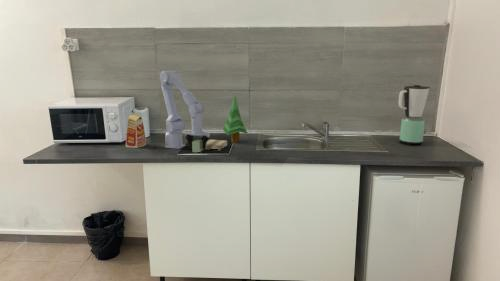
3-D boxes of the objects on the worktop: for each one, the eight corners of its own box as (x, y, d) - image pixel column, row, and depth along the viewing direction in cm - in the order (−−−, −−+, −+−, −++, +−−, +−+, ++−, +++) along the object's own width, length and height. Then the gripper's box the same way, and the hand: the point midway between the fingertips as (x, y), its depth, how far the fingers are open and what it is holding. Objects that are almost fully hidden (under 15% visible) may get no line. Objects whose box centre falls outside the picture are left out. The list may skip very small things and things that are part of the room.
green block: (192, 152, 203) (191, 141, 201) (195, 150, 207) (195, 139, 205) (199, 152, 201) (199, 142, 200) (203, 150, 206) (202, 140, 204)
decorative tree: (251, 140, 228) (251, 92, 221) (236, 145, 215) (235, 95, 208) (234, 137, 236) (234, 91, 228) (218, 142, 223) (217, 93, 216)
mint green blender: (415, 139, 230) (421, 84, 221) (430, 145, 217) (437, 86, 209) (388, 141, 226) (394, 84, 217) (402, 146, 213) (408, 86, 205)
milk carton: (125, 146, 214) (122, 113, 209) (135, 143, 222) (133, 110, 217) (138, 148, 211) (135, 114, 206) (148, 144, 219) (145, 111, 214)
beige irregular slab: (202, 148, 209) (202, 143, 208) (210, 144, 219) (210, 139, 219) (220, 150, 206) (220, 145, 205) (227, 145, 216) (227, 140, 215)
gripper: (181, 125, 199) (182, 149, 202) (206, 126, 195) (206, 151, 198) (187, 122, 205) (188, 146, 209) (211, 124, 201) (211, 148, 204)
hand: (197, 148), depth 204 cm, fingers open, 7 cm apart
